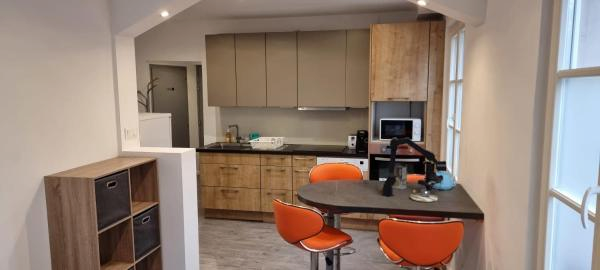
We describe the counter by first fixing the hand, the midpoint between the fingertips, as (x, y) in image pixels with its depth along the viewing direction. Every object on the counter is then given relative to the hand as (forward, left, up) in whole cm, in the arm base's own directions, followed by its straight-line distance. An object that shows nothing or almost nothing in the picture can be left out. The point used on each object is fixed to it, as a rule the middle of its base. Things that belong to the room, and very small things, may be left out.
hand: (429, 193), depth 269 cm
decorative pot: (+29, +11, -3) cm, 31 cm away
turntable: (-6, 0, -3) cm, 7 cm away
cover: (-5, 0, -1) cm, 5 cm away
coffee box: (+6, +31, -3) cm, 32 cm away
